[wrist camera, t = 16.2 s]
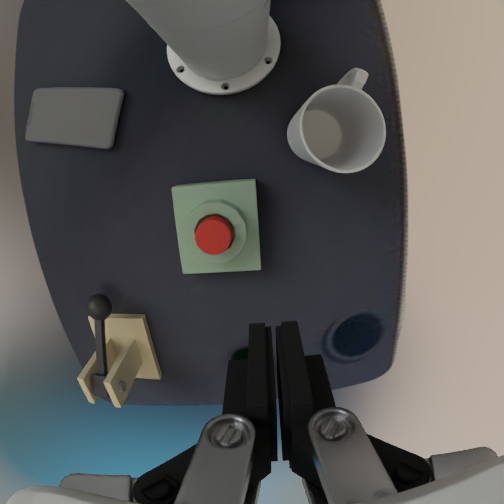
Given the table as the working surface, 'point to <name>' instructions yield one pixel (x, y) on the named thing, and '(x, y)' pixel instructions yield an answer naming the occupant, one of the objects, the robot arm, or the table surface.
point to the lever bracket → (122, 357)
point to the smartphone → (75, 116)
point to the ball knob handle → (100, 340)
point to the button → (213, 235)
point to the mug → (339, 126)
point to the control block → (227, 207)
